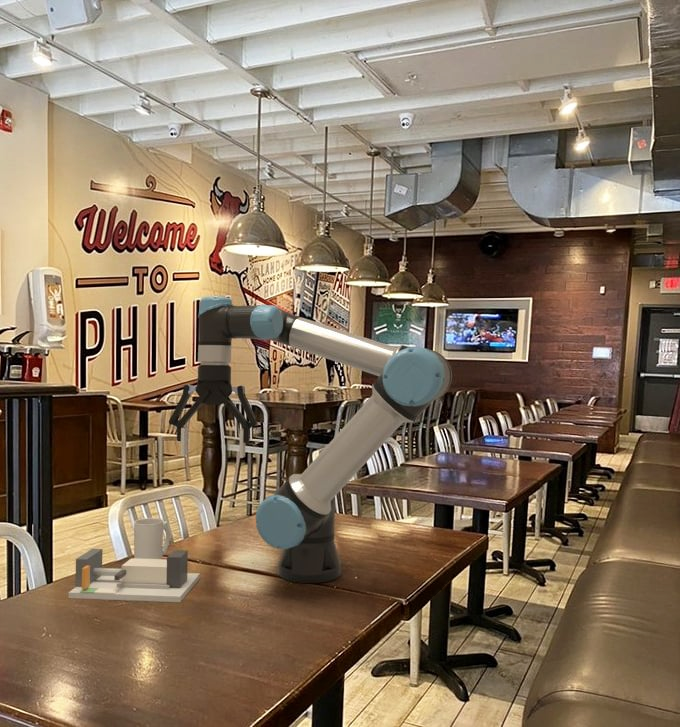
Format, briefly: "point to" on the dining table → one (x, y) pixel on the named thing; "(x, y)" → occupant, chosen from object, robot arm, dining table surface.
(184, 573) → the beige and grey block
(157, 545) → the mug
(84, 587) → the needle
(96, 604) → the dining table surface
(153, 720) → the dining table surface
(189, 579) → the base
